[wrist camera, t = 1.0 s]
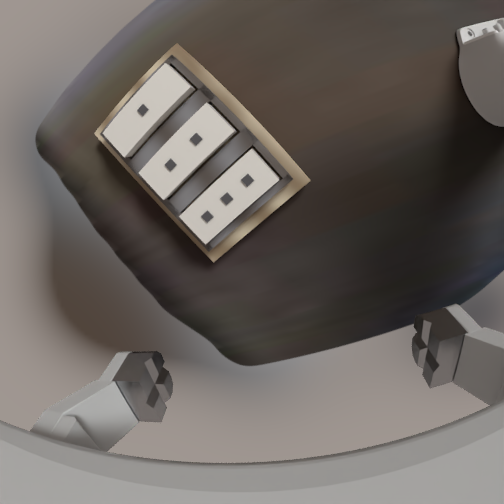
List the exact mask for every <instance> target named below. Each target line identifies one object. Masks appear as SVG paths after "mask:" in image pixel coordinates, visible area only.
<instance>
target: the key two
mask: <svg viewBox="0 0 504 504" xmlns="http://www.w3.org/2000/svg"><path fill="white" fill-rule="evenodd" d="M236 132H237V131H236V130H235V129H234V128H233V127H232V126H231V125H230V124H229V123H228V122H227V121H226V120H225V119H224V118H223V117H222V116H221V115H220V114H219V113H218V112H217V111H216V110H215V109H214V108H213V107H212V106H211V105H210V104H208V103H205V104H204V105H203V106H202V107H201V108H200V109H199V110H198V111H197V112H196V113H195V114H194V115H193V116H192V117H191V118H190V119H189V120H188V121H187V122H186V123H185V124H184V125H183V126H182V127H181V128H180V129H179V130H178V131H177V132H176V133H175V134H174V135H173V136H172V137H171V138H170V139H169V140H168V141H167V142H166V143H165V144H164V145H163V146H162V147H161V148H160V150H159V151H158V152H157V153H156V154H155V155H154V156H153V157H152V158H151V159H150V160H149V162H148V163H147V164H146V165H145V166H144V167H143V168H142V169H141V170H140V172H139V174H140V175H141V176H142V178H143V179H144V180H145V181H146V182H147V183H148V184H149V185H150V186H151V187H152V188H153V189H154V191H155V192H156V193H157V194H158V195H159V196H160V197H161V198H162V199H163V200H165V199H166V198H168V197H170V196H171V195H172V194H173V193H174V192H175V190H176V189H177V188H178V187H179V186H180V185H181V184H182V183H183V182H184V181H185V180H186V179H187V178H188V177H189V176H190V175H191V174H192V173H193V172H194V171H196V170H197V169H198V168H199V167H200V166H201V165H202V164H203V163H204V162H205V161H206V160H207V159H208V158H209V157H210V156H211V155H212V154H213V153H214V152H215V151H216V150H217V149H219V148H220V147H221V146H222V145H223V144H224V143H225V142H226V141H227V140H228V139H229V138H231V137H232V136H233V135H234V134H235V133H236Z"/></svg>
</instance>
